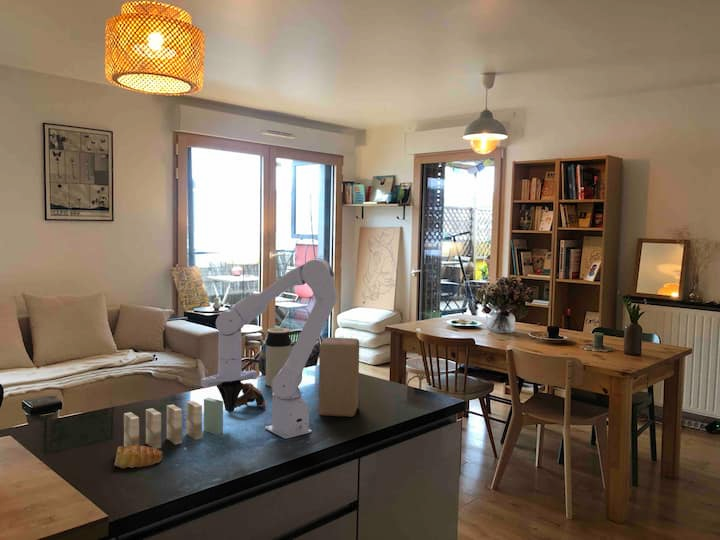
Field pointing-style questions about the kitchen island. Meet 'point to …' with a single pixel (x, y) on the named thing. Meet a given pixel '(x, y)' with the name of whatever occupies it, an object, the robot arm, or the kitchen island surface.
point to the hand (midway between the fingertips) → (229, 410)
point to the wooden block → (338, 376)
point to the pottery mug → (250, 396)
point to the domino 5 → (213, 416)
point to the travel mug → (276, 351)
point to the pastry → (137, 456)
